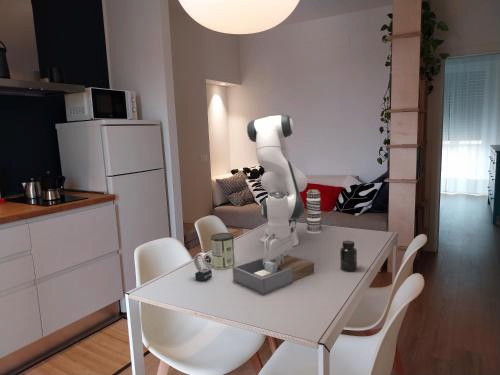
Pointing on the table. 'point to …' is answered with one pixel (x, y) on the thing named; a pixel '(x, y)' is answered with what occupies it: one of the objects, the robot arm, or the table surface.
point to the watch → (203, 273)
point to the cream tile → (262, 273)
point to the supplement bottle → (348, 257)
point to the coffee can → (222, 250)
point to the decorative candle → (313, 211)
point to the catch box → (260, 285)
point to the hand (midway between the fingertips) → (279, 263)
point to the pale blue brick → (271, 267)
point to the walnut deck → (295, 266)
